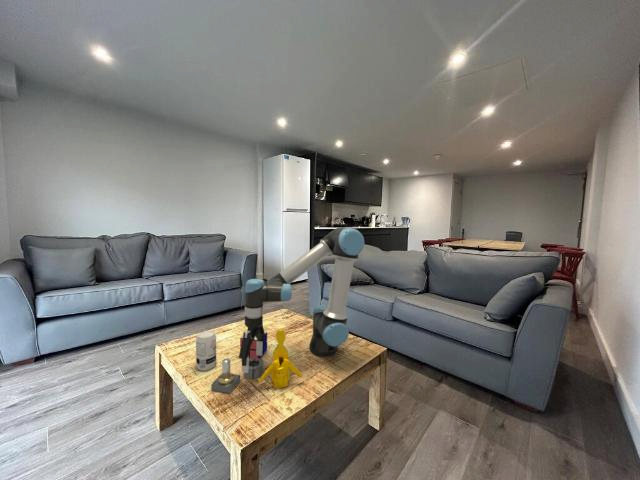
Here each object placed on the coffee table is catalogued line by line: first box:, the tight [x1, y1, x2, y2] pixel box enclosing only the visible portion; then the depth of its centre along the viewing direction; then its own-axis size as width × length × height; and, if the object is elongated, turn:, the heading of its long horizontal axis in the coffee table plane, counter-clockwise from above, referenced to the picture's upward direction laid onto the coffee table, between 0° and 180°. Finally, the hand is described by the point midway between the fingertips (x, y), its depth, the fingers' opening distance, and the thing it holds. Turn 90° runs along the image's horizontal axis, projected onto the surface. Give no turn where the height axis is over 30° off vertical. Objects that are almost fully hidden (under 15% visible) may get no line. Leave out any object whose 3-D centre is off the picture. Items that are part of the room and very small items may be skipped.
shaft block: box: [210, 358, 241, 395], centre depth 101 cm, size 8×8×10 cm
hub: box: [242, 358, 265, 380], centre depth 110 cm, size 8×8×5 cm
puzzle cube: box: [239, 331, 268, 360], centre depth 126 cm, size 10×10×10 cm
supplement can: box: [195, 330, 217, 372], centre depth 114 cm, size 8×8×15 cm
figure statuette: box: [258, 327, 303, 390], centre depth 103 cm, size 18×8×22 cm, turn 104°
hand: (252, 363), depth 110 cm, fingers open, 13 cm apart
